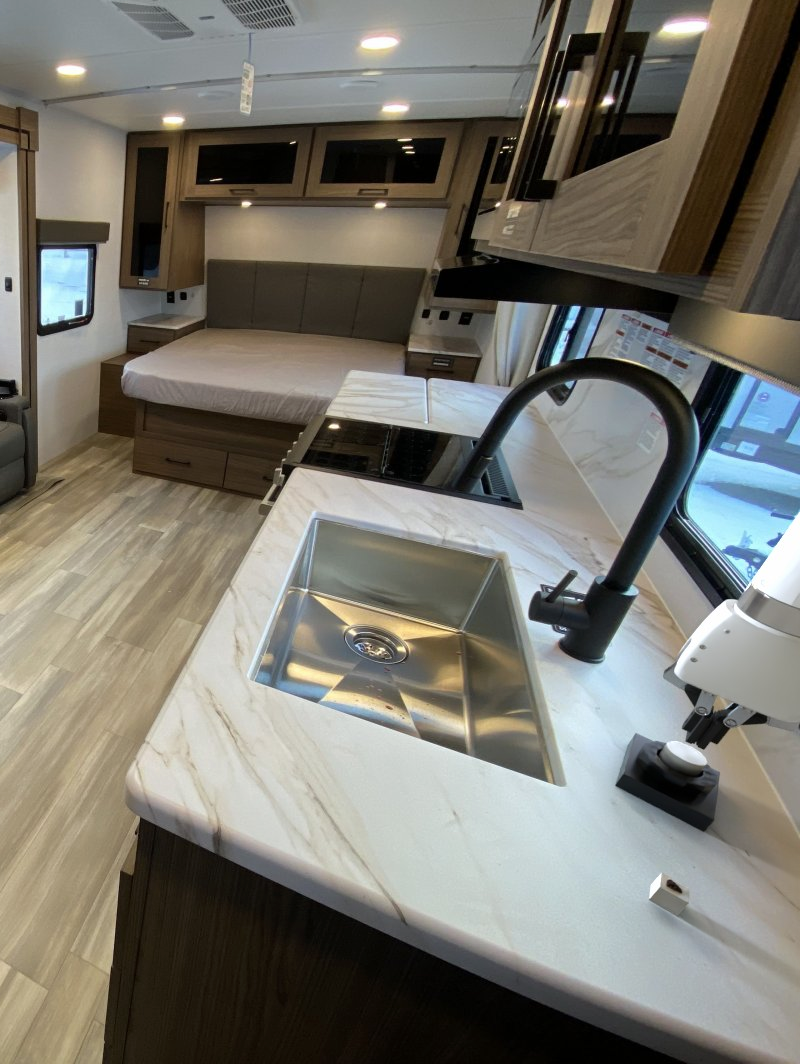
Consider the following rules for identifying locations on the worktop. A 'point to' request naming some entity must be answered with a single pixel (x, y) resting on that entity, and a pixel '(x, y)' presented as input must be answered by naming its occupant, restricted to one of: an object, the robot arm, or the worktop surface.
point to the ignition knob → (683, 758)
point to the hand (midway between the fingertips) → (695, 739)
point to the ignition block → (668, 784)
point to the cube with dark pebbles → (669, 894)
